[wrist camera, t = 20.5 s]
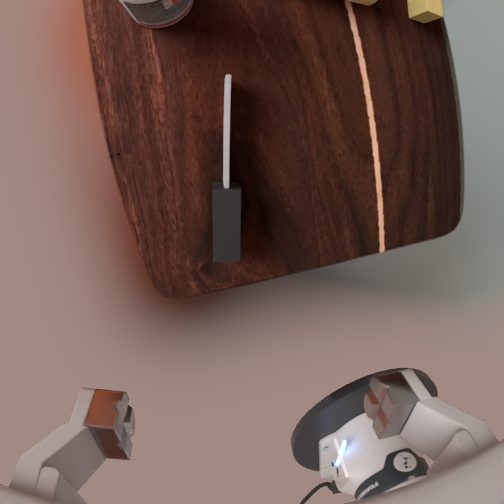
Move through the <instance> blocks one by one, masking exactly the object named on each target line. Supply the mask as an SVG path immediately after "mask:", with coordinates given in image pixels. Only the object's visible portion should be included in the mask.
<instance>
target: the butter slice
mask: <svg viewBox="0 0 504 504" xmlns="http://www.w3.org/2000/svg"><path fill="white" fill-rule="evenodd" d="M407 3H408V14H409V18H410V19H413V20H416V21H419V22H422V23H426V22H429V21H433V20H436V19H439V18H442V17H443V9H442V1H441V0H407Z"/></svg>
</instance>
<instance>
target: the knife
mask: <svg viewBox="0 0 504 504" xmlns="http://www.w3.org/2000/svg"><path fill="white" fill-rule="evenodd" d="M230 107H231V75H226V77H225V86H224V135H223V182H213V257H214V262H240V248H241V188H240V186H239V184H238V182H229V164H230Z"/></svg>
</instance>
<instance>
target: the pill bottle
mask: <svg viewBox="0 0 504 504" xmlns="http://www.w3.org/2000/svg"><path fill="white" fill-rule="evenodd" d="M193 1H194V0H119V2H120V3H121V4H122V5H123V7H124V8H125V9H126V10H127V12H128V13H129V14H130V15H131V17H132V18H133V19H134V20H135V21H136V22H138V23H139V24H141V25H143V26H146V27H150V28H162V27H166V26H170V25H172V24H174V23H176V22H178V21H179V20H181V19H182V18H183V17H184V16H185V15H186V14H187V13H188V12H189V10H190V9H191V7H192V4H193Z"/></svg>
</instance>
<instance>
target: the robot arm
mask: <svg viewBox="0 0 504 504" xmlns="http://www.w3.org/2000/svg"><path fill="white" fill-rule="evenodd" d="M369 385H370V387H371V388H370V389H369V390H368V391H367V392H366V394H365V397H364V409H365V413H363V414H361V415H359V416H357V417H355V418H354V419H352V420H351V421H349V422H348V423H346V424H345V425H344V426H342V427H341V428H340V429H339V430H337V431H336V432H334V433H332V434H330V435H328V436H326V437H324V438H323V439H321V440H320V441H319V468H320V476H321V478H334V480H333V481H332V482H331V483H329V482H325V483H322V484H319V485H318V486H317V487H315V488H314V489H313V490H312V491H311V492H310V493H309V494H308V495H307V496H306V497H305V498H304V499H303V500H302V501H301V503H300V504H304V503H305V502H306V501H307V500H308V499H309V498H310V497H311V496H312V495H313V494H314V493H315V492H316V491H317V490H318V489H320V488H321V487H323V486H328V488H329V489H330V490H331V491H332V492H333V494H335V493H342V492H344V493H348V494H351V495H354V497H355V498H356V500H357V501H354V502H350V503H346V504H504V439H503V440H502V441H500V442H499V441H498V440H497V439H496V437H495V436H494V434H493V433H492V431H491V430H490V429H489V428H488V426H487V425H486V423H485V422H484V420H482V419H480V418H478V417H476V416H474V415H472V414H470V413H468V412H466V411H464V410H461V409H460V408H457V407H455V406H453V405H451V404H449V403H447V402H445V401H443V400H441V399H439V398H437V397H431V395H430V394H429V392H428V391H427V389H426V388H425V387H424V385H423V384H422V382H421V381H420V379H419V378H418V377H417V375H416V374H415V373H414V371H413V370H412V369H410V368H409V369H405V370H401V371H395V372H391V373H386V374H381V375H376V376H373V377H372V378H371V380H370V383H369ZM128 403H129V397H128V395H127V392H122V391H111V390H101V389H91V388H83V389H82V390H81V391H80V394H79V397H78V399H77V402H76V405H75V407H74V410H73V413H72V416H71V419H70V422H69V423H64V424H63V425H62V426H60V427H59V428H58V429H56V430H55V431H54V432H53V433H51V434H50V435H49V436H47V437H46V438H45V439H43V440H42V441H41V442H39V443H38V444H37V445H36V446H34V447H33V448H31V449H30V450H29V451H27V452H26V453H25V454H23V455H22V456H21V457H20V458H19V460H18V463H17V465H16V468H15V471H14V474H13V477H12V480H11V483H10V486H9V487H7V486H4V485H1V484H0V504H87V503H86V502H85V500H84V499H83V498H82V497H81V496H80V495H79V494H78V493H77V491H78V490H79V489H80V488H81V487H82V486H83V484H84V483H85V482H86V481H87V480H88V479H89V477H91V476H92V474H93V473H94V472H95V471H96V470H97V469H98V468H99V467H100V466H101V464H102V463H103V462H104V461H105V460H106V458H112V459H122V460H130V455H131V449H132V443H131V440H130V437H131V436H132V435H133V434H134V430H135V417H134V412H133V409H132V407H130V406H129V405H128ZM423 454H425V455H426V456H428V457H429V458H431V459H432V460H433V461H434V462H433V464H432V465H431V466H430V467H429V465H427V463H426V461H425V459H424V458H422V457H423Z"/></svg>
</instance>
